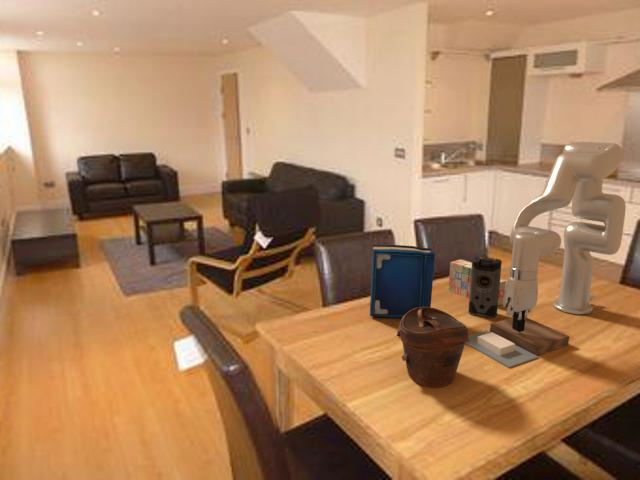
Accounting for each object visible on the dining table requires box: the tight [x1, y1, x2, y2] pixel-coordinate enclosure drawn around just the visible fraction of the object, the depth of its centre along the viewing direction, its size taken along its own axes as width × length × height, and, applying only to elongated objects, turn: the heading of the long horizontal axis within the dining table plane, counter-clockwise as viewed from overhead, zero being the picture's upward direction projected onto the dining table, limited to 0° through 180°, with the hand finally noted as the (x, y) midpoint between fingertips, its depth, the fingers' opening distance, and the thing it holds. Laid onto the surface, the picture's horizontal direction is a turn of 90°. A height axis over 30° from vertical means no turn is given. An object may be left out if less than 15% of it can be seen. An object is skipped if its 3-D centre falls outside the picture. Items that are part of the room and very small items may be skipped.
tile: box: [477, 332, 515, 356], centre depth 148 cm, size 6×9×2 cm, turn 27°
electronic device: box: [468, 256, 502, 319], centre depth 171 cm, size 9×6×20 cm, turn 62°
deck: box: [489, 317, 570, 357], centre depth 154 cm, size 14×18×3 cm
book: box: [369, 244, 436, 319], centre depth 169 cm, size 22×7×25 cm, turn 84°
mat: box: [465, 330, 539, 369], centre depth 148 cm, size 12×20×1 cm, turn 28°
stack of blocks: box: [448, 259, 507, 307], centre depth 187 cm, size 21×6×12 cm, turn 34°
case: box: [396, 307, 470, 388], centre depth 132 cm, size 18×20×18 cm
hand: (518, 329), depth 151 cm, fingers closed
